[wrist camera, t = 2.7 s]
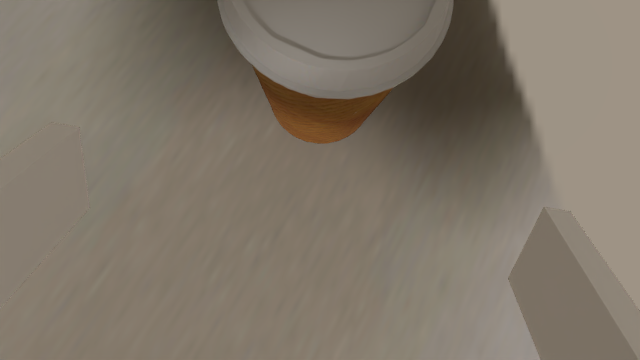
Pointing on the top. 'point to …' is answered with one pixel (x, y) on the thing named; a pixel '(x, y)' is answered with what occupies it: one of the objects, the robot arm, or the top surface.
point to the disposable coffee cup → (333, 55)
